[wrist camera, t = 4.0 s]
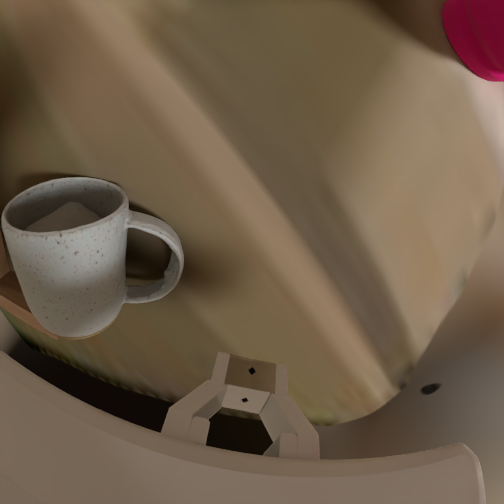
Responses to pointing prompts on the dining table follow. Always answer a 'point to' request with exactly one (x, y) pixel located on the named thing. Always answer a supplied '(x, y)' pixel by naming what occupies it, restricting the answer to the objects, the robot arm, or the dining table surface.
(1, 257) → the walnut stop
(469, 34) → the pepper mill
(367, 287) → the dining table surface
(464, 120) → the dining table surface
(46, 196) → the ceramic mug
